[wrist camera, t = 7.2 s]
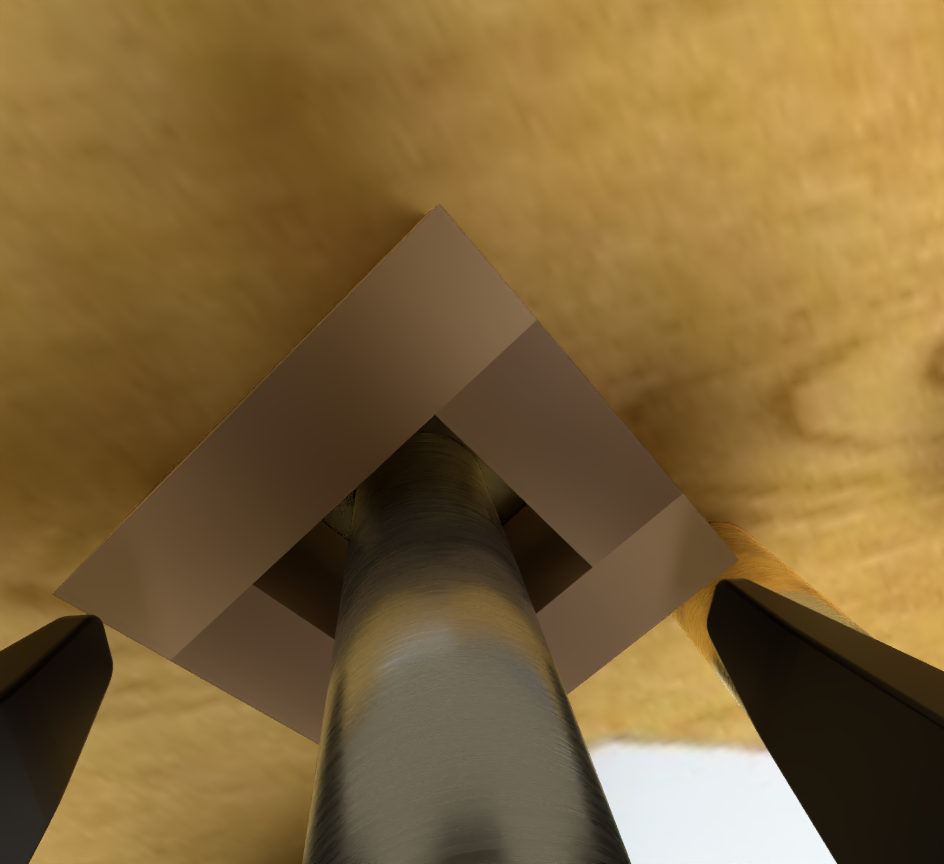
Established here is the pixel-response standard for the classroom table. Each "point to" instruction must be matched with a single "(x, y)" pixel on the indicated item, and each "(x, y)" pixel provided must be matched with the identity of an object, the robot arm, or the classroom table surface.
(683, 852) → the classroom table surface
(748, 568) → the short pin
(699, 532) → the collar
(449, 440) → the long pin
